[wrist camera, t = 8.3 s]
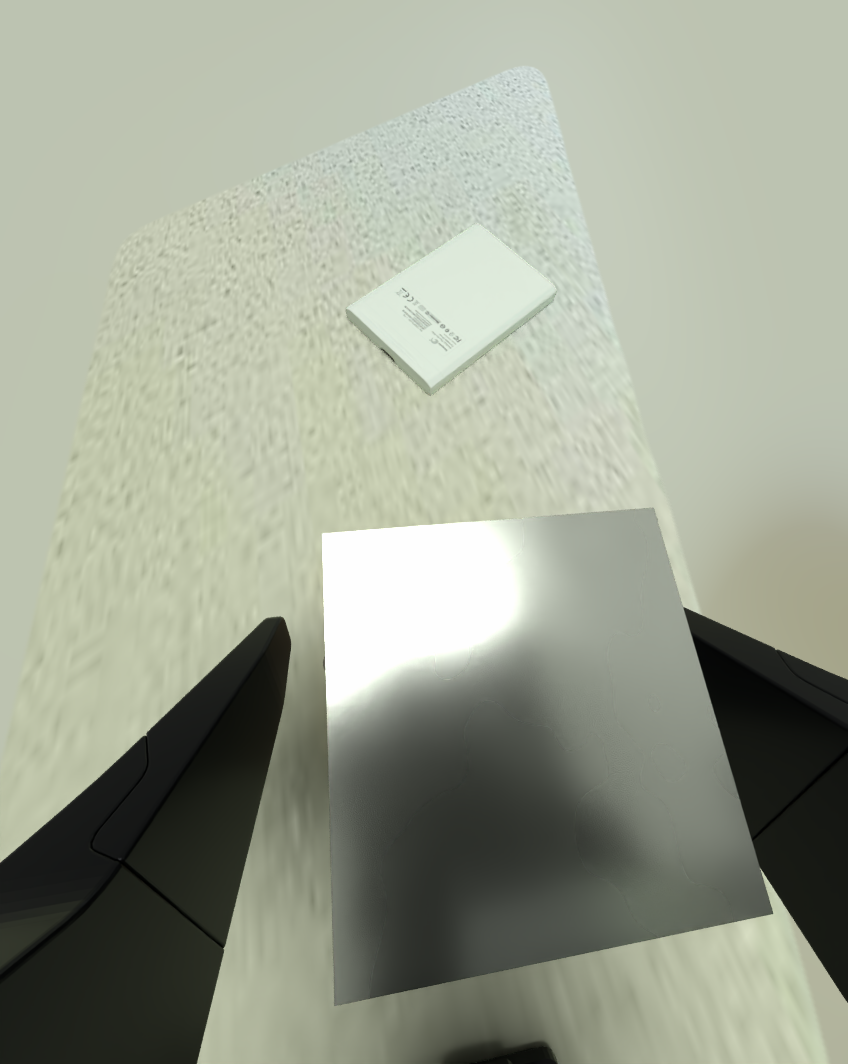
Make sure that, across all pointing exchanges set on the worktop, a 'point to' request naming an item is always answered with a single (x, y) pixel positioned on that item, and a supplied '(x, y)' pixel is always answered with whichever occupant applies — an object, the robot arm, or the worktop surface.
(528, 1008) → the worktop surface
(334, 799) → the tower
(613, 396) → the worktop surface
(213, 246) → the worktop surface
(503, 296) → the external hard drive
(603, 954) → the worktop surface
